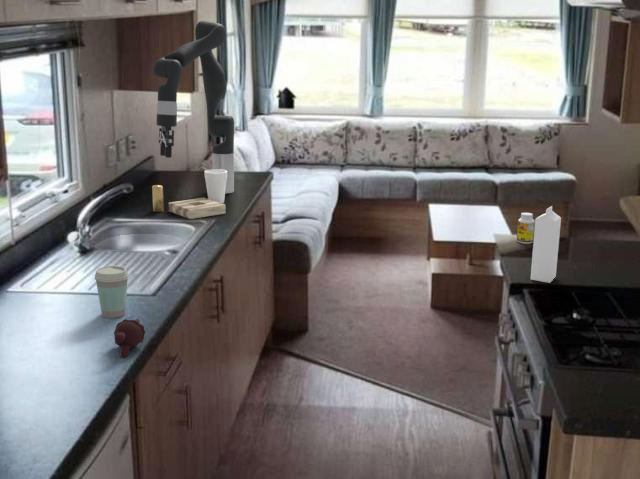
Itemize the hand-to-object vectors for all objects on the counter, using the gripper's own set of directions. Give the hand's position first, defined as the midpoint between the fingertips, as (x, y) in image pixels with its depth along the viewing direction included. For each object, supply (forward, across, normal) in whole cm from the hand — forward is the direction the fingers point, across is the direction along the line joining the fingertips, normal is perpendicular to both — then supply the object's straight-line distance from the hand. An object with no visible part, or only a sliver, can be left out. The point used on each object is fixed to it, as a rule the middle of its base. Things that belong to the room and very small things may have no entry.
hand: (165, 156), depth 319 cm
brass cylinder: (+22, +9, 0) cm, 24 cm away
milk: (+25, -117, -88) cm, 148 cm away
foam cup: (+20, +17, -26) cm, 37 cm away
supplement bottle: (+21, -80, -109) cm, 136 cm away
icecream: (+35, -125, +37) cm, 135 cm away
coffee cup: (+33, -102, +37) cm, 113 cm away
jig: (+22, +2, -14) cm, 26 cm away
